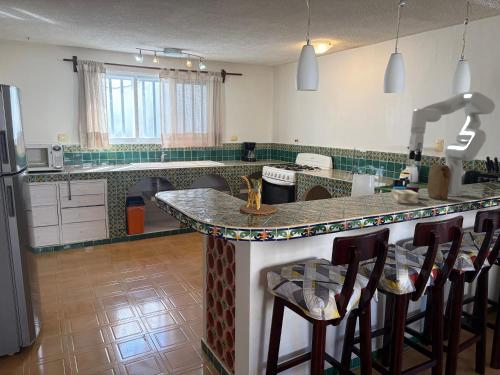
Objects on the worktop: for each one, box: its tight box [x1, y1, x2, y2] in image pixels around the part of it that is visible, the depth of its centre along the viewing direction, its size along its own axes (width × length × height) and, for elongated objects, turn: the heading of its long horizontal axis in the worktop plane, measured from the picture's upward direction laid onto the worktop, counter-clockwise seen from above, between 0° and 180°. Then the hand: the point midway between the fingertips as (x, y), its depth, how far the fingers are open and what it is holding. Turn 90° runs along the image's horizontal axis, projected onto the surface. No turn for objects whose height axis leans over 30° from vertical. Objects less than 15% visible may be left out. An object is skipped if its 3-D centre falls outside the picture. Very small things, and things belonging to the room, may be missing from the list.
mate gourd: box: [405, 173, 420, 194], centre depth 216 cm, size 8×8×15 cm
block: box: [427, 164, 451, 201], centre depth 214 cm, size 11×8×20 cm
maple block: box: [390, 189, 420, 204], centre depth 206 cm, size 11×11×6 cm
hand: (414, 160), depth 213 cm, fingers open, 9 cm apart
